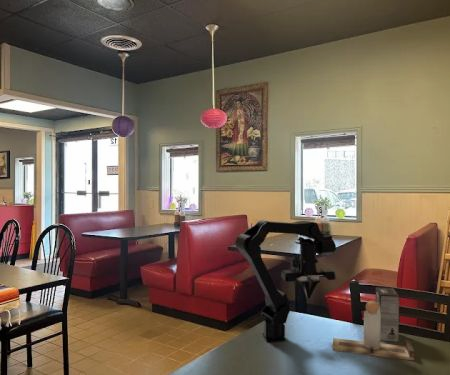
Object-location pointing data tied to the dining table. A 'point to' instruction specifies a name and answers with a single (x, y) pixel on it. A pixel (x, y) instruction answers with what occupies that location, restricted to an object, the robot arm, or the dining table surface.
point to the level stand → (384, 350)
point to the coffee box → (388, 313)
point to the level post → (372, 326)
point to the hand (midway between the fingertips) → (308, 298)
